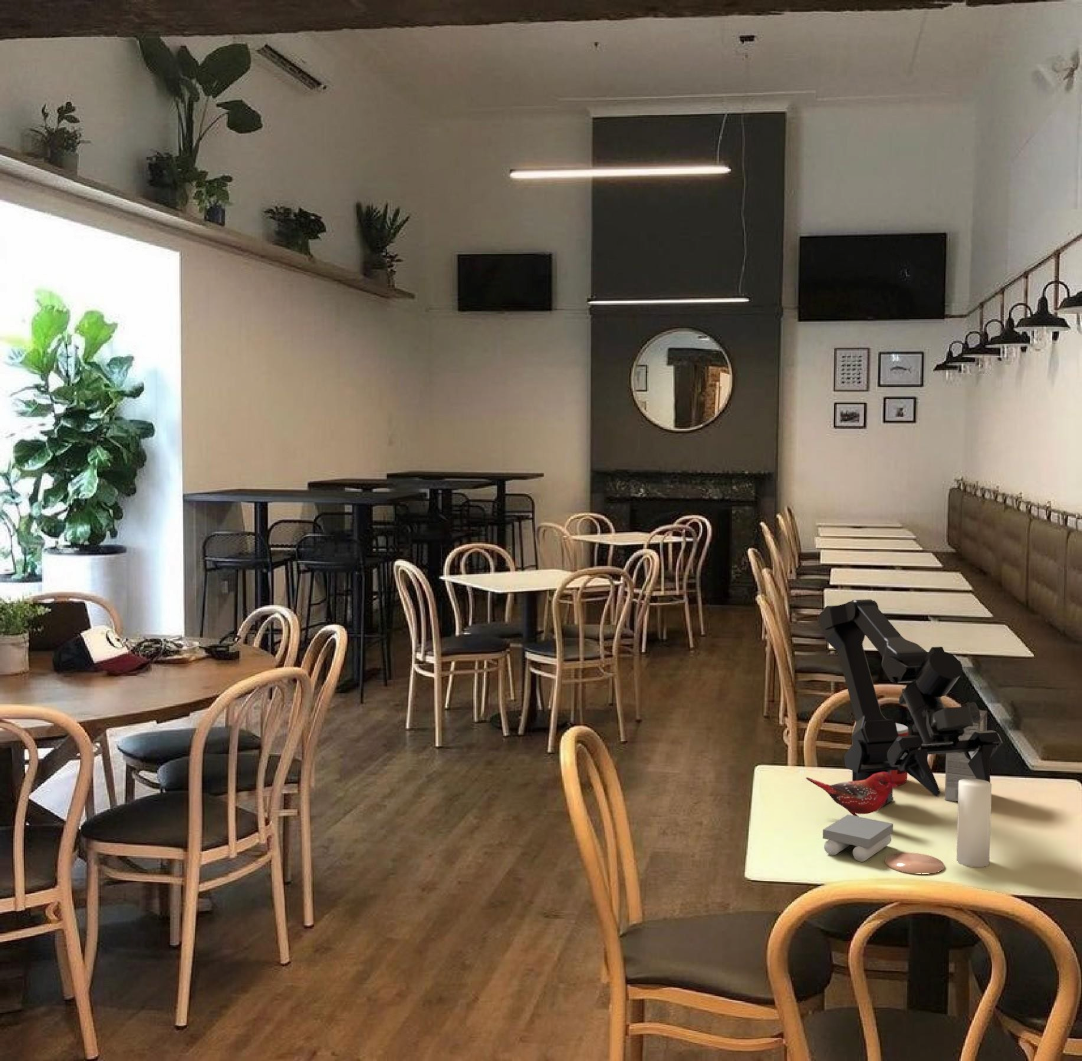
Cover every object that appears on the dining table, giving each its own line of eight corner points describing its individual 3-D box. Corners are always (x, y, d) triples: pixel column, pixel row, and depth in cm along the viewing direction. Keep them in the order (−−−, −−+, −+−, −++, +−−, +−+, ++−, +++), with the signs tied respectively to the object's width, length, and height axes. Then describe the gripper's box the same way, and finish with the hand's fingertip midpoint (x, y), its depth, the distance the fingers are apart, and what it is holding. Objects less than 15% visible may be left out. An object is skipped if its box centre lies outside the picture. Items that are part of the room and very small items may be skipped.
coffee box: (951, 787, 238) (953, 706, 237) (986, 792, 235) (988, 709, 234) (943, 800, 230) (945, 715, 229) (979, 805, 227) (981, 719, 226)
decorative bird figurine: (893, 832, 212) (894, 776, 211) (801, 812, 223) (802, 758, 222) (900, 828, 214) (901, 772, 213) (808, 808, 225) (809, 755, 225)
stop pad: (876, 866, 195) (876, 863, 195) (897, 851, 202) (898, 848, 202) (932, 878, 190) (932, 876, 190) (952, 862, 197) (952, 860, 197)
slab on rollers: (822, 853, 201) (822, 829, 201) (847, 837, 209) (847, 814, 209) (868, 863, 197) (869, 839, 196) (892, 846, 204) (893, 823, 204)
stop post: (952, 862, 197) (954, 783, 196) (962, 854, 201) (964, 776, 200) (983, 869, 194) (985, 789, 193) (993, 860, 198) (995, 782, 197)
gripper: (896, 688, 201) (931, 772, 192) (997, 683, 206) (1036, 764, 196) (872, 725, 210) (904, 806, 200) (969, 719, 214) (1005, 798, 204)
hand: (963, 793), depth 200 cm, fingers open, 9 cm apart
